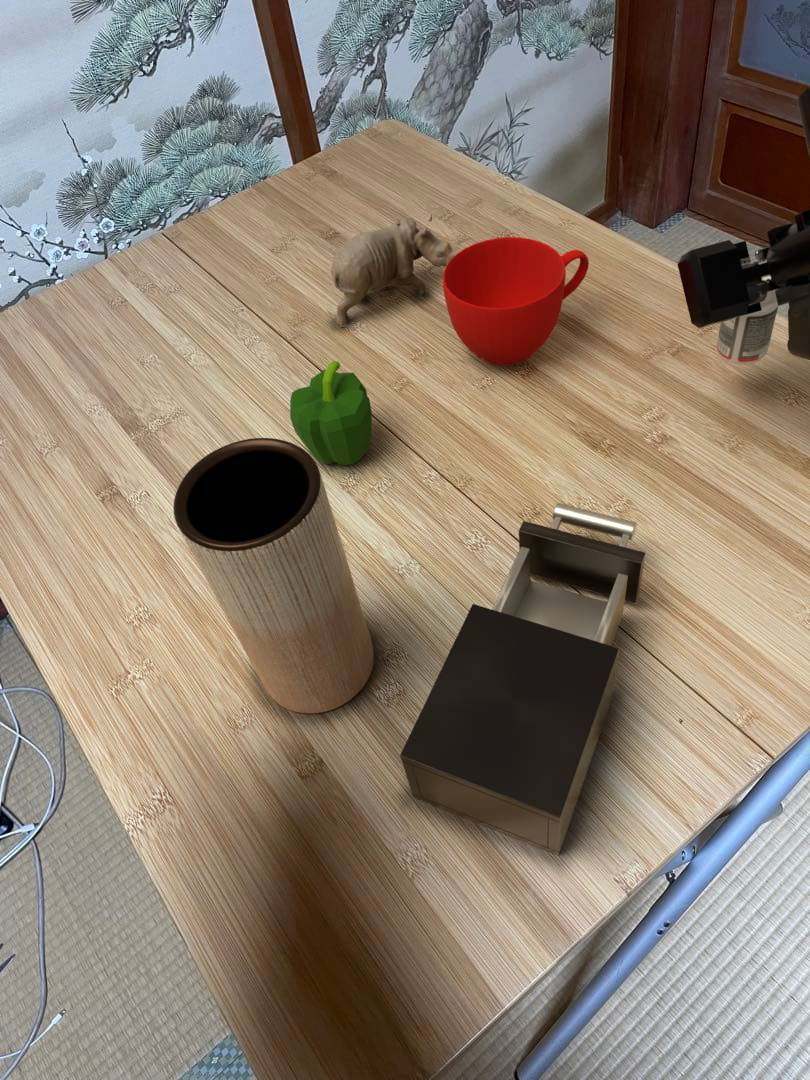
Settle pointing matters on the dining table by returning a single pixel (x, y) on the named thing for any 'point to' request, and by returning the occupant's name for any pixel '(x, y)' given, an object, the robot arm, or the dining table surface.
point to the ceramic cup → (508, 295)
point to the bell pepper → (333, 416)
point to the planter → (278, 570)
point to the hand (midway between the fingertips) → (745, 285)
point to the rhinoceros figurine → (384, 262)
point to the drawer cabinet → (512, 726)
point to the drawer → (574, 574)
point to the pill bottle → (748, 333)
